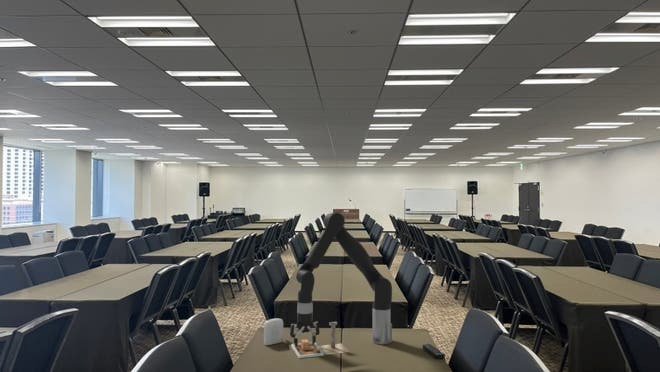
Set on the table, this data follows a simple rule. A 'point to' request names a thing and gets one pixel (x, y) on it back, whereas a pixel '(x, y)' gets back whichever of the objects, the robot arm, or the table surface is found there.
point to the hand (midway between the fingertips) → (304, 344)
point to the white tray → (308, 354)
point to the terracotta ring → (307, 348)
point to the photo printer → (273, 331)
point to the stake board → (331, 351)
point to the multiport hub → (433, 351)
